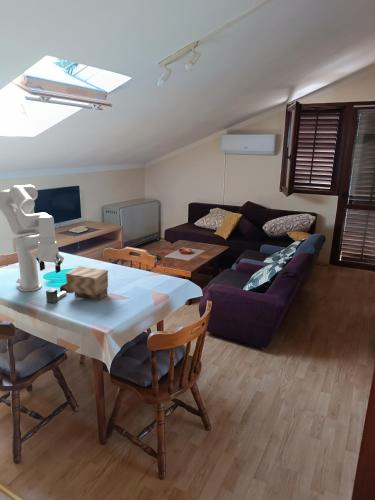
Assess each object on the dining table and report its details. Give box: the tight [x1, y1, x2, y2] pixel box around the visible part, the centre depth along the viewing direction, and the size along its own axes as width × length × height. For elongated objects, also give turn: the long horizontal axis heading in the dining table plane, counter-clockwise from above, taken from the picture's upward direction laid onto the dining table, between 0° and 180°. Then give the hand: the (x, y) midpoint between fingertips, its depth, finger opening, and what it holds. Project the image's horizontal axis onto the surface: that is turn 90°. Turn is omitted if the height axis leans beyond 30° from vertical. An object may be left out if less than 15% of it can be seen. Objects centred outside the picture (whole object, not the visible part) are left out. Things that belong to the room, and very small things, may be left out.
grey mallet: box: [45, 288, 67, 305], centre depth 198 cm, size 4×13×7 cm, turn 163°
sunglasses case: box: [59, 282, 74, 294], centre depth 216 cm, size 18×7×7 cm, turn 163°
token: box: [74, 295, 85, 302], centre depth 200 cm, size 5×5×2 cm
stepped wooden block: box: [65, 265, 109, 300], centre depth 201 cm, size 19×13×15 cm
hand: (50, 271), depth 190 cm, fingers open, 9 cm apart
